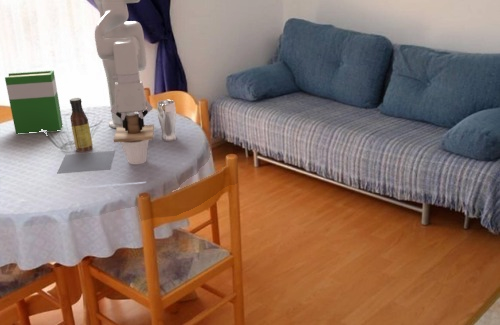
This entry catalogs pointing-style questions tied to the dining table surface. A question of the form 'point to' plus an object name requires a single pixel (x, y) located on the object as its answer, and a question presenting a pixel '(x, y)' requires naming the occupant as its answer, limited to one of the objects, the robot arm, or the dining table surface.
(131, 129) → the oak lid
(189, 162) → the dining table surface
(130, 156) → the cup
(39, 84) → the hardback book
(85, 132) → the sauce bottle
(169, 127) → the beer glass
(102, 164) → the slate mat
